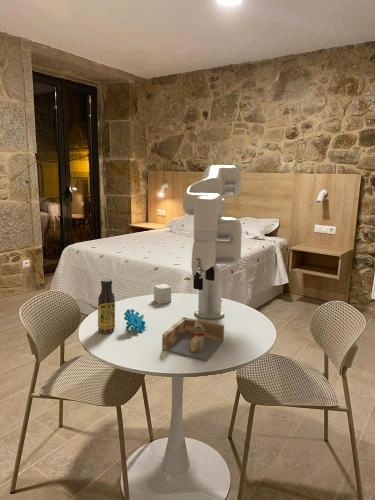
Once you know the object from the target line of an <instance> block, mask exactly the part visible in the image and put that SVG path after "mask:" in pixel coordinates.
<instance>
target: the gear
mask: <svg viewBox="0 0 375 500" xmlns="http://www.w3.org/2000/svg"><path fill="white" fill-rule="evenodd" d="M123 315H124V317H123V319H124V320H125V321H126V323H125V324H126V325H127V326H126V327H125V328H126V330H128V329H129V328H130V329H131V330H132V331H134V330H135V333H139V332H140V333H142V332H144V330H145V329H146V328H147V326H146V321H145V320H143V319H144V317H145V315H144V314H141V315H140V312H139V311H136V312H135V309H132V308H131V309H130V308H129V309H126V311H125V312H124V313H123ZM135 328H136V329H135Z"/></svg>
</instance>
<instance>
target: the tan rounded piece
mask: <svg viewBox="0 0 375 500" xmlns="http://www.w3.org/2000/svg"><path fill="white" fill-rule="evenodd" d="M195 320H196V321H195V326H194V332H195V334H192V339H191V342H190V347H189V349H190V351H191V352H192V353H196V352H200V351H201V350H203V348H204V334H205V329H204V327H203V325H201V324H200V322H199V321H197V320H198V319H195Z"/></svg>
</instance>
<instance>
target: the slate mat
mask: <svg viewBox="0 0 375 500" xmlns="http://www.w3.org/2000/svg"><path fill="white" fill-rule="evenodd" d="M191 339H192V334H189V333H184V334H183V335H182V336H181V337H180V338H179V339H178V340H177V341H175V342H174V343H173V344H172V345H171V346H170V347H169V348H168V349H166V351H164V350H163V352H166V353H171V354H174V355H178V356H182V357H186V358H188V359H189V358H190V359H193V360H198V361H202V362H208V360H209V359H210V358H211V357H212V355H213V354H214V353H215V352H216V350H218V348H219V347H220V346H221V345H222V344H223V342H224V341H220V340H215V339H211V338H207V337H204V348H203V350H201V351H200V352H196V353H192V352H191V351H190V349H189V347H190V342H191Z"/></svg>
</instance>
